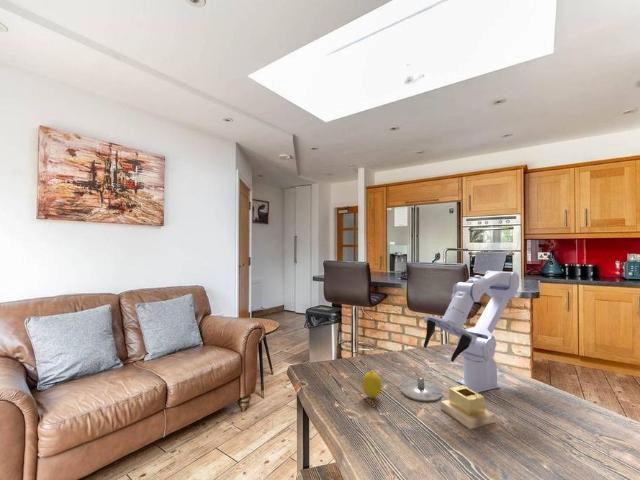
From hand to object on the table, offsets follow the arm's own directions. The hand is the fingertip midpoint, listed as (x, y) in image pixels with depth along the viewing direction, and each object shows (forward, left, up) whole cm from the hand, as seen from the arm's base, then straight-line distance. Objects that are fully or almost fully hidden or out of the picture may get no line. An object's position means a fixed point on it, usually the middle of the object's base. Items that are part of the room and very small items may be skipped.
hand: (438, 352), depth 84 cm
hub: (-1, -10, -15) cm, 18 cm away
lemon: (+15, -12, -15) cm, 24 cm away
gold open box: (-4, +5, -13) cm, 15 cm away
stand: (-4, +5, -15) cm, 17 cm away
